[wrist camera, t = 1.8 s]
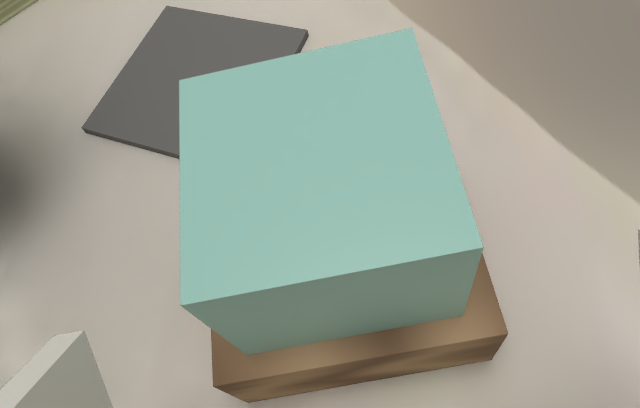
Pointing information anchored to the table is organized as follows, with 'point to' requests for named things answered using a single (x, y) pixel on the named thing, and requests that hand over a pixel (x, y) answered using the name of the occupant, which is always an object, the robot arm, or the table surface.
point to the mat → (181, 72)
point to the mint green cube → (321, 198)
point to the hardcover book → (12, 8)
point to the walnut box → (365, 352)
